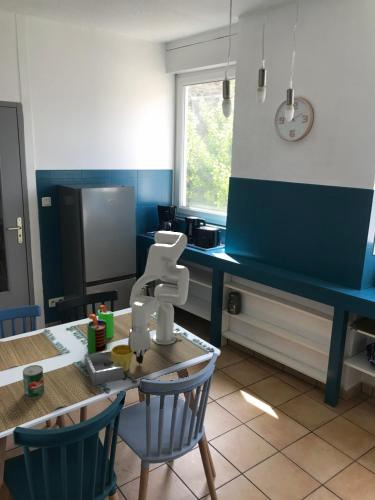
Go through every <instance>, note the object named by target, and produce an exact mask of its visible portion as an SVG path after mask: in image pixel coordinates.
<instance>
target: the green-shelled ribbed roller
mask: <svg viewBox="0 0 375 500" xmlns="http://www.w3.org/2000/svg"><path fill="white" fill-rule="evenodd" d="M114 317H115V316H114V312H112V311H110V310H107V307H106V306H105V305H104V304H102V305H100V306H99V309H98V310H97V320H105V321H107V339H111V338H113V337H114V333H115V331H114V329H115V328H114V325H115V324H114Z"/></svg>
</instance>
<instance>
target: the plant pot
mask: <svg viewBox="0 0 375 500" xmlns="http://www.w3.org/2000/svg"><path fill="white" fill-rule="evenodd" d="M129 347H130V346H129ZM110 350H111V357H112V359H113V361H114V362H113V365H114V367H118V366H123V367H124V371H125V372H127V371H128V370H130V367H131V362H132V359H133V357H134V354H133V353H134V352H133V350H132V352H131V353H129V348H128V344H117V345H115V346H113V347H112V348H111V349H110Z"/></svg>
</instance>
